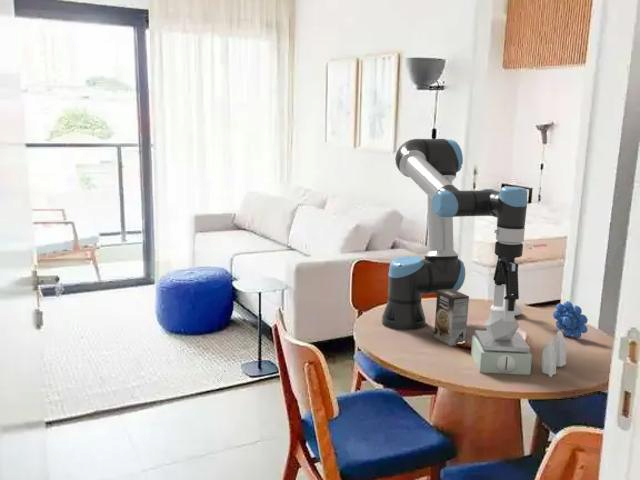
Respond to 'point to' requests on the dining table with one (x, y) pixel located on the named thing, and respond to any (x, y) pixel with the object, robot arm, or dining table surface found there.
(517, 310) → the flower in vase
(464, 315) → the coffee box
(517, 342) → the pan
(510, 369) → the block
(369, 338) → the dining table surface
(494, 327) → the die
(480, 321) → the dining table surface
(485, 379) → the dining table surface
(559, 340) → the salt and pepper shakers
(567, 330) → the grapes
